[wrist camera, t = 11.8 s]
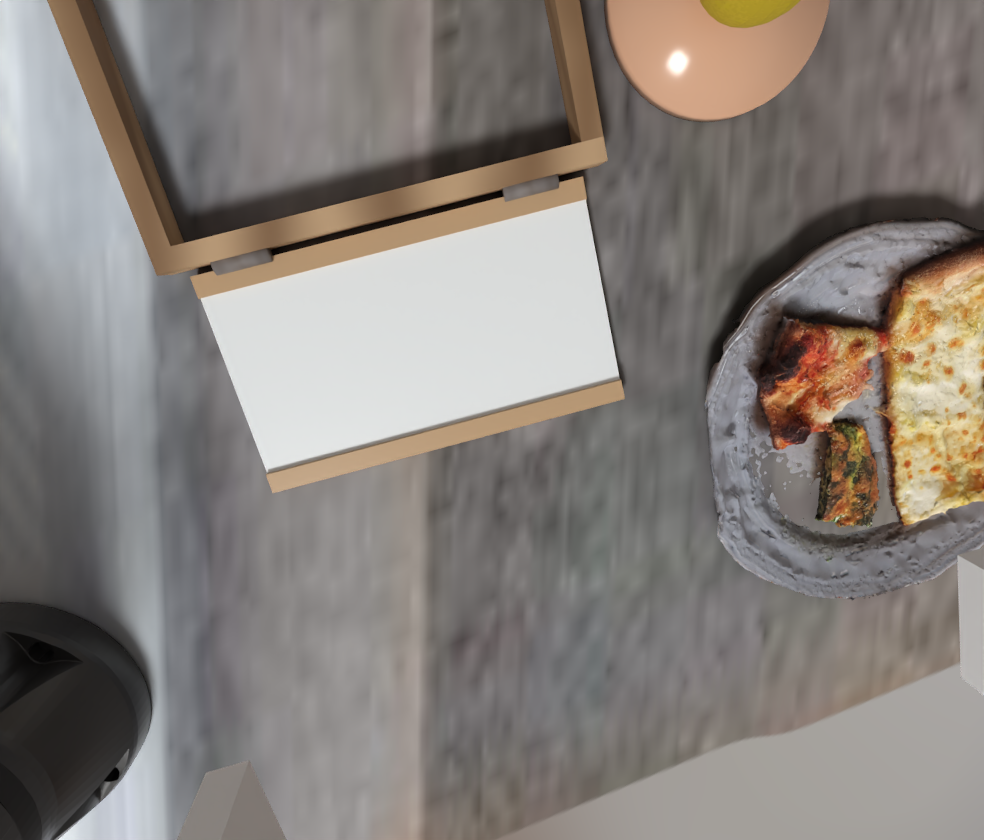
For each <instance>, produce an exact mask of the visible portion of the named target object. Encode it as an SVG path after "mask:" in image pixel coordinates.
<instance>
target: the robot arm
mask: <svg viewBox="0 0 984 840" xmlns="http://www.w3.org/2000/svg"><path fill="white" fill-rule="evenodd" d="M957 559H958V592H959V625H960V659H961V678H962V679H963V680H964V681H966V682H967V683H968V684H969V685H971V686H972V687H973V688H975V689H976V690H977V691H979V692H980V693H981V694H982V695H984V547H983V548H980V549H977V550H973V551H970V552H966V553H963V554H959V555H957ZM150 718H151V704H150V697H149V692H148V688H147V686H146V683H145V680H144V678H143V676H142V674H141V672H140V670H139V668H138V667H137V665H136V664H135V662H134V660H133V659H132V658H131V657H130V655H129V654H128V653H127V652H126V651H125V650H124V649H123V647H122V646H120V645H119V644H118V643H117V642H116V641H115V640H114V639H113V638H112V637H110V636H109V635H108V634H106V633H105V632H104V631H102V630H101V629H99V628H98V627H96V626H94V625H93V624H91V623H89V622H87V621H85V620H83V619H81V618H79V617H77V616H74V615H72V614H69V613H67V612H64V611H61V610H57V609H53V608H50V607H45V606H40V605H34V604H25V603H0V840H58V839H59V838H60V837H61V836H63V835H64V834H65V833H66V832H67V831H68V830H69V829H70V828H72V827H73V826H74V825H75V824H76V823H77V822H78V821H79V820H81V819H82V818H83V817H84V816H85V815H86V814H87V813H88V812H89V811H91V810H92V809H93V808H94V807H95V806H96V805H97V804H98V803H100V802H101V801H102V800H103V799H104V798H105V797H106V796H107V795H108V794H109V793H110V792H111V791H112V790H113V789H114V788H115V787H116V786H117V785H118V783H119V782H120V781H121V780H122V778H123V777H124V775H125V774H126V772H127V771H128V769H129V767H130V766H131V764H132V762H133V761H134V759H135V757H136V756H137V754H138V752H139V751H140V749H141V747H142V745H143V743H144V741H145V739H146V736H147V733H148V730H149V725H150ZM177 840H286V838H285V836H284V834H283V831H282V829H281V827H280V825H279V823H278V821H277V819H276V816H275V814H274V812H273V810H272V808H271V806H270V804H269V801H268V799H267V797H266V795H265V793H264V791H263V789H262V786H261V784H260V782H259V780H258V778H257V776H256V774H255V772H254V769H253V767H252V765H251V763H250V761H249V760H248V761H245V762H241V763H238V764H234V765H231V766H227V767H224V768H220V769H217V770H214V771H210V772H207V773H206V774H205V776H204V779H203V781H202V783H201V785H200V788H199V790H198V792H197V795H196V797H195V799H194V802H193V804H192V806H191V809H190V811H189V813H188V816H187V818H186V820H185V823H184V825H183V827H182V829H181V832H180V834H179V836H178V839H177Z"/></svg>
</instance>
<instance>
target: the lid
mask: <svg viewBox="0 0 984 840" xmlns="http://www.w3.org/2000/svg"><path fill="white" fill-rule="evenodd" d="M586 199H587V196H586V190H585V185H584V180H583V176H582V177H578V178H575V179H571V180H567V181H563V182H559V188H558V189H554V190H550V191H546V192H542V193H538V194H535V195H531V196H527V197H523V198H519V199H515V200H511V201H507V202H505V200H504V197H500V198H496V199H492V200H489V201H485V202H481V203H477V204H473V205H469V206H465V207H461V208H457V209H453V210H449V211H446V212H442V213H438V214H434V215H430V216H426V217H422V218H418V219H414V220H410V221H406V222H403V223H399V224H395V225H391V226H387V227H383V228H379V229H375V230H371V231H367V232H363V233H360V234H356V235H352V236H348V237H344V238H340V239H336V240H332V241H328V242H324V243H321V244H317V245H313V246H309V247H305V248H301V249H297V250H293V251H289V252H285V253H281V254H278V255H274V256H272V258H273V262H269V263H265V264H261V265H257V266H253V267H250V268H246V269H242V270H238V271H234V272H230V273H226V274H222V275H216V274H215V273H214V271H211V272H207V273H203V274H199V275H195V276H192V277H190V278H191V281H192V283H193V286H194V288H195V291H196V294H197V296H198V299H201V301H202V304H203V306H204V309H205V311H206V314H207V317H208V319H209V322H210V325H211V327H212V330H213V332H214V335H215V338H216V340H217V343H218V346H219V348H220V351H221V353H222V356H223V359H224V361H225V364H226V366H227V369H228V372H229V374H230V377H231V380H232V382H233V385H234V387H235V390H236V393H237V395H238V398H239V400H240V403H241V406H242V408H243V411H244V414H245V416H246V419H247V421H248V424H249V427H250V429H251V432H252V434H253V437H254V440H255V442H256V445H257V448H258V450H259V453H260V455H261V458H262V461H263V463H264V466H265V469H266V471H267V474H266V476H267V479H268V482H269V484H270V487H271V489H272V492H273V493H275V492H279V491H283V490H287V489H290V488H294V487H298V486H301V485H305V484H309V483H313V482H316V481H320V480H324V479H328V478H331V477H335V476H339V475H343V474H346V473H350V472H354V471H357V470H361V469H365V468H369V467H372V466H376V465H380V464H384V463H387V462H391V461H395V460H398V459H402V458H406V457H410V456H413V455H417V454H421V453H425V452H428V451H432V450H436V449H440V448H443V447H447V446H451V445H454V444H458V443H462V442H466V441H469V440H473V439H477V438H481V437H484V436H488V435H492V434H495V433H499V432H503V431H507V430H510V429H514V428H518V427H522V426H525V425H529V424H533V423H537V422H540V421H544V420H548V419H551V418H555V417H559V416H563V415H566V414H570V413H574V412H578V411H581V410H585V409H589V408H592V407H596V406H600V405H604V404H607V403H611V402H615V401H619V400H622V399H625V397H624V392H623V386H622V381H621V380H620V378H619V372H618V367H617V362H616V356H615V351H614V346H613V341H612V335H611V330H610V325H609V320H608V314H607V309H606V304H605V298H604V293H603V288H602V283H601V277H600V272H599V267H598V261H597V256H596V251H595V246H594V240H593V235H592V230H591V225H590V219H589V214H588V209H587V203H586Z"/></svg>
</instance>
